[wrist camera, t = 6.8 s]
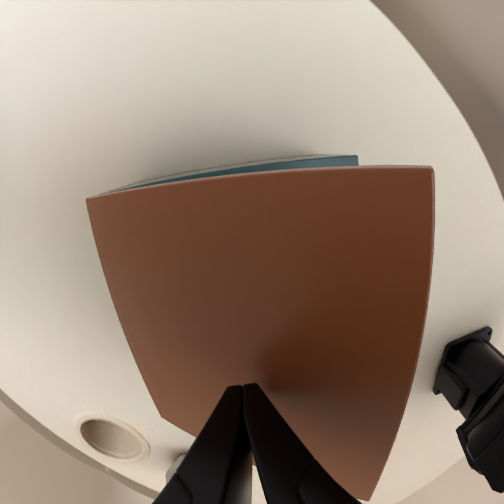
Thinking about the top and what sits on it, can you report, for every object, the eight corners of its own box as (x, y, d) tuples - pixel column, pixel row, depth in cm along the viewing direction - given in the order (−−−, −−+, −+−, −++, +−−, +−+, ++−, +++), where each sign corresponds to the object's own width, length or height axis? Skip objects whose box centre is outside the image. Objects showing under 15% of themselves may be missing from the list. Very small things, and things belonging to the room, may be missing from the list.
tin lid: (432, 165, 5) (433, 168, 4) (374, 488, 8) (368, 501, 8) (99, 194, 11) (84, 198, 10) (169, 409, 14) (160, 417, 14)
